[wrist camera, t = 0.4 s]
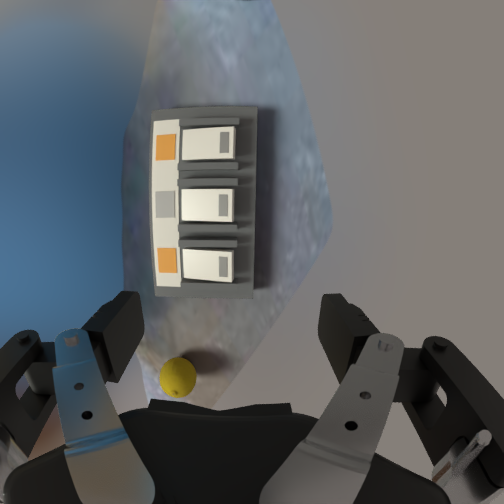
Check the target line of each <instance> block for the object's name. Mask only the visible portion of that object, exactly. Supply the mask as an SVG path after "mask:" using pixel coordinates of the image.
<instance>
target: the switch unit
mask: <svg viewBox="0 0 504 504" xmlns="http://www.w3.org/2000/svg"><path fill="white" fill-rule="evenodd" d="M257 108H258V107H247V106H214V107H189V108H175V109H163V110H153V111H152V116H151V132H150V156H149V213H150V237H151V253H152V267H153V278H154V288H155V296H163V297H189V298H237V299H253V284H254V243H255V200H256V155H257ZM214 127H235V128H236V140H235V159H214V160H190V161H184V160H182V141H183V130H188V129H200V128H214ZM182 189H234V221H233V222H219V221H185V220H182ZM185 247H192V248H208V249H224V250H234V280H233V281H232V282H222V281H211V280H201V279H191V278H184V268H183V249H184V248H185Z"/></svg>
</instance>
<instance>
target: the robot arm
mask: <svg viewBox="0 0 504 504" xmlns="http://www.w3.org/2000/svg"><path fill="white" fill-rule="evenodd" d="M143 335H144V319H143V313H142V307H141V300H140V295H139V293H138V292H134V291H121V292H120V293H119V294H118V295H117V296H116V297H115V298H114V299H113V300H112V301H110V302H108V303H106V304H104V305H102V306H101V308H100V309H99V310H98V311H97V312H96V313H95V314H94V315H93V317H91V318H90V319H89V320H88V321H87V323H85V325H84V326H83V327H82V328H81V329H78V328H74V329H69V330H65V331H63V332H61V333H60V334H58V335H57V336H56V338H55V342H41V340H40V337H39V335H38V333H37V332H36V331H34V330H24V331H21V332H19V333H17V334H15V335H14V336H13V337H12V338H11V339H10V340H9V341H8V342H7V343H6V344H5V345H4V346H3V347H2V348H1V349H0V503H4V504H489V503H490V502H492V501H493V500H494V499H495V498H497V497H498V496H499V495H500V494H502V493H503V492H504V399H503V398H502V397H501V396H500V394H499V393H498V392H497V391H496V390H495V389H494V387H493V386H492V385H491V384H490V383H489V382H488V381H487V379H486V378H485V377H484V376H483V375H482V374H481V373H480V372H479V370H478V369H477V368H476V367H475V366H474V365H473V364H472V363H471V362H470V361H469V360H468V359H467V358H466V356H465V355H464V354H463V353H462V352H461V351H459V349H458V348H457V347H456V346H455V345H454V344H453V343H452V342H450V341H449V340H447V339H445V338H442V337H438V336H431V337H428V338H426V339H425V340H424V342H423V345H422V348H404V344H403V342H402V340H400V339H399V338H398V337H396V336H394V335H391V334H386V333H380V332H379V330H378V329H377V328H376V327H375V326H374V324H373V323H372V322H371V321H369V318H368V317H367V316H365V314H364V313H363V311H362V310H361V309H360V308H358V307H357V306H355V305H353V304H349V303H348V302H347V301H346V299H345V298H344V297H343V296H342V294H340V293H339V294H324V295H323V297H322V301H321V309H320V316H319V324H318V336H319V340H320V342H321V344H322V346H323V349H324V351H325V353H326V355H327V357H328V360H329V362H330V364H331V366H332V368H333V370H334V373H335V375H336V377H337V379H338V382H339V384H340V386H339V388H338V389H337V391H336V393H335V394H334V396H333V398H332V399H331V401H330V402H329V404H328V406H327V407H326V409H325V410H324V412H323V414H322V415H321V417H320V418H319V419H317V418H314V417H311V416H308V415H304V414H299V413H292V409H291V405H290V403H280V404H255V405H250V406H245V407H240V408H234V409H228V410H221V411H217V410H212V409H208V408H204V407H200V406H196V405H192V404H188V403H185V402H177V401H167V400H158V399H151V400H150V403H149V406H148V408H141V409H135V410H131V411H127V412H124V413H122V414H120V415H118V414H117V412H116V410H115V407H114V405H113V403H112V400H111V398H110V396H109V393H108V391H107V388H106V386H105V384H106V382H107V381H109V382H114V383H118V382H119V380H120V378H121V376H122V374H123V373H124V371H125V369H126V367H127V365H128V363H129V361H130V359H131V357H132V356H133V354H134V352H135V350H136V348H137V346H138V345H139V343H140V341H141V339H142V337H143ZM23 374H24V375H25V377H26V379H27V381H28V383H29V385H30V386H29V387H28V388H27V390H26V391H25V393H24V394H23V396H22V397H21V398H20V400H19V399H18V397H17V395H16V392H15V387H16V383H17V382H18V381H19V379H20V378H21V376H23ZM440 386H441V387H442V389H443V390H444V391H445V393H446V395H447V404H446V407H445V406H444V404H443V403H442V401H441V400H440V398H439V397H438V395H437V394H436V393H437V391H438V389H439V387H440ZM392 402H402V405H403V406H404V408H405V410H406V412H407V414H408V416H409V418H410V420H411V422H412V423H413V425H414V427H415V429H416V431H417V433H418V435H419V437H420V439H421V441H422V443H423V445H424V447H425V449H426V451H427V453H428V455H429V457H430V460H431V462H432V464H433V466H434V468H433V471H432V481H431V480H429V479H426V478H424V477H422V476H420V475H417V474H416V473H413V472H411V471H409V470H407V469H405V468H403V467H401V466H400V465H398V464H396V463H394V462H392V461H390V460H388V459H386V458H384V457H382V456H381V455H379V454H377V453H375V450H376V448H377V445H378V442H379V440H380V437H381V435H382V432H383V429H384V426H385V424H386V421H387V418H388V415H389V412H390V408H391V405H392ZM56 404H57V406H58V412H59V417H60V422H61V426H62V431H63V434H64V439H65V443H66V444H64V445H62V446H60V447H58V448H56V449H54V450H52V451H50V452H47V453H45V454H43V455H41V456H39V457H37V458H35V459H33V460H30V461H28V457H29V455H30V453H31V451H32V449H33V447H34V445H35V443H36V441H37V439H38V437H39V435H40V433H41V431H42V429H43V427H44V425H45V423H46V422H47V420H48V418H49V416H50V414H51V412H52V411H53V409H54V407H55V405H56Z"/></svg>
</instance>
